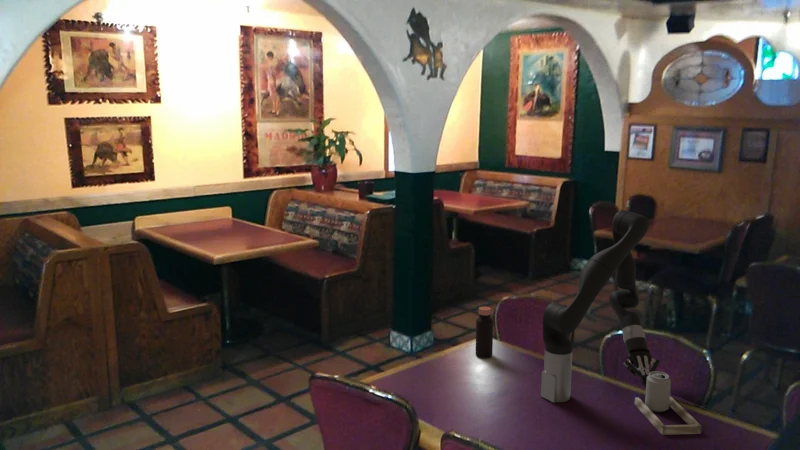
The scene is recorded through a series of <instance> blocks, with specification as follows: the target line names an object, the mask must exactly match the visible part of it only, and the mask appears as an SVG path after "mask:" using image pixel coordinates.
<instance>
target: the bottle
mask: <svg viewBox="0 0 800 450" xmlns="http://www.w3.org/2000/svg"><path fill="white" fill-rule="evenodd" d="M491 315H492V308H491V307H489V306H479V307H478V317H477V318H476V319H475V356H476V357H477V358H479V359H490V358H491V357H493V350H494V349H493V346H494V345H493V344H494V343H493V341H494V339H493V338H494V320H493V318H492V317H491Z"/></svg>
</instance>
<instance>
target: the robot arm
mask: <svg viewBox="0 0 800 450" xmlns="http://www.w3.org/2000/svg"><path fill="white" fill-rule="evenodd" d="M649 227H650V221H649V219H648V218H647V216H644V215H642V214H639V213H636V212H634V211H633V212H632V211H629V210H627V209H626V210H625V209H621V210H618V211H617V212H616V213H615V214H614V216H613V219H612V225H611V230H612V232H611V233H612V239H613V245H611V246H609V247H608V248H607V247H606V248H604V249H603V250H600V251H599V252H596V253H595V254H594V255H592V256H591V257H590V258H589V260H588V261H587V262H586V263H585V264H584V266H583V268H581V271H580V274H579V279H578V289H577V292H576V295H575V297H574V298H573V299H572V301H571V302H570V304H569V305H564V304H561V302H550V303H549V304H547V306H546V307H545V309H544V311H543V314H542V315H543V316H542V340H543V343H544V361H543V363H544V364H543V365H544V366H543V370H542V371H541V385H540V386H541V387H540V396H541V397H542V398H544V399H546V400H547V401H550V402H551V403H553V404H555V403H565V402H568V401H569V400H571V391H572V390H571V387H572V365H573V362H572V361H573V346H574V345H573V342H572V340H570V339H569V337H568V336H567V335H571V334H573V332H575V331H576V330H577V328H579V325H580V324H581V322H582V320H583V319H584V317H585V315H586V314H587V313H588V310H589V309H590V307H591V305H592V304H593V303H594V301H595V300H596V298H597V297H598V296H599V294H600V293H601V291H602V290H603V289H604V287H605V286H606V285H607V283H608V282H609V281H610V280H611V278H612V277H613V275H615V276H614V277H615V278H614V281H615V282H614V283H615V285H616V287H617V288H619V290H614V291H612V292H610V294H609V296H608V302H609V305H610V307H611V309H612V310H613V312H614V313H615V315H616V316H617V319H618V320H619V325H620V328H621V332H622V338H623V342H624V347H625V350H626V354H627V359H626V360H624V362H623V363H622V365H623V366H624V368H625V369H627V371H628V372H630V373H631V374H632V375H633V376H634V377H639V379H640V383H641V386H643V388H645V389H646V382H647V376H649V373H650V372H653V371H657V368H658V365H660V364H659V363H660V360H659V359H656V358H653V356H652V354H651V353H650V348H649V345H648V341H647V337H646V335H645V330H644V329H643V327H642V322H641V319H640V316H639V314H638V313H637V312H635V311H632V310H630V309H635V308H637V307H638V305H639V303H640V297H639V294H638V290H637V285H636V284H637V283H636V280H637V279H636V276H637V266H636V265H637V264H636V261H635V258H634V257H633V254H632V251H633V249H635V247H636V246H637V245H638V244H639V243H640V242H641V241H642V239H643V238H644V237H645V235H647V232H648V230H649ZM620 289H622V290H620ZM650 363H651V367H650Z"/></svg>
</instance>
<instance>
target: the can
mask: <svg viewBox="0 0 800 450" xmlns="http://www.w3.org/2000/svg"><path fill="white" fill-rule="evenodd" d="M671 385H672V381H671V379H670V376H669V374H667V373H666V372H663V371H657V370H655V371H653V372H650V373H649V376H647V382H646V388H645V398H644V404H645V405H646V406H647V407H648V408H649V409H650V410H651V411H652V412H653V413H654V412H655V413H664V412H666V411H667V410H669V409H670V406H669V400H670V396H671V387H672V386H671Z"/></svg>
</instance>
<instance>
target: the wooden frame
mask: <svg viewBox="0 0 800 450" xmlns="http://www.w3.org/2000/svg"><path fill="white" fill-rule="evenodd" d="M634 406H635V407H636V408H637V409H638V410H639V411H640V412H641V413H642V415H644V417H645V418H646V419H647V420H648V421H649V423H651V424H652V426H654V428H655V429H656V430H657V431H658V432H659V433H660V434H661V435H662V436H668V435H669V436H673V435H698V434H699V435H702V431H703V426H702V425H701V424H700V423H699V422H698V421H697V420H696V419H695V418H694V417H693V416H692V415H691V414H690V413H689V412H688V411H687V410H686V409H685V408H684V407H683V406H681V405H680V404H679V403H678V401H677V400H675V399H674V398H673V397H672V396H671V395H670V400H669V408H671V409H672V410H673V411H674V412H675V413H676V414H677V415H678V416H679V417H680V418H681V419H682V420H683V421H684V422H685V424H669V425H667V424H666V425H665V424H664V423H663V421H661V420H660V418H658V416H657V415H656V414H655V413H654V411H651V410H650V409H649V408H648V407H647V406H646V405H645V402H643V400H642V399H641V398H640V397H634Z"/></svg>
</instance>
